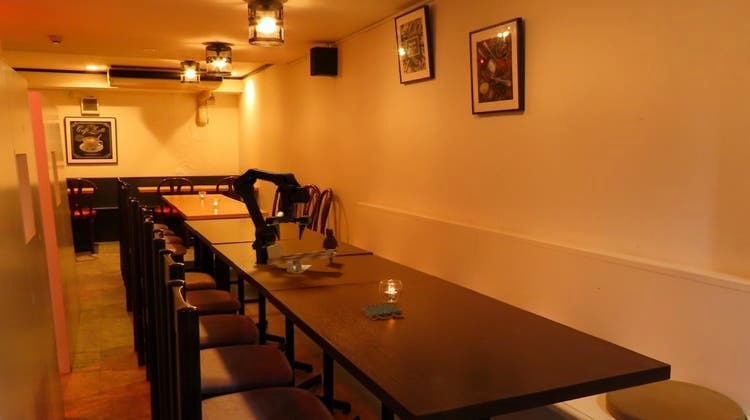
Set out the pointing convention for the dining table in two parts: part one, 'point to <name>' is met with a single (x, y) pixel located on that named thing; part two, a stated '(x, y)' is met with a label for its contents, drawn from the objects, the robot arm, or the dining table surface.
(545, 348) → the dining table surface
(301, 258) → the beam
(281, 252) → the tan block
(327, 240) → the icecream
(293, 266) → the stand
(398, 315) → the woven mat
